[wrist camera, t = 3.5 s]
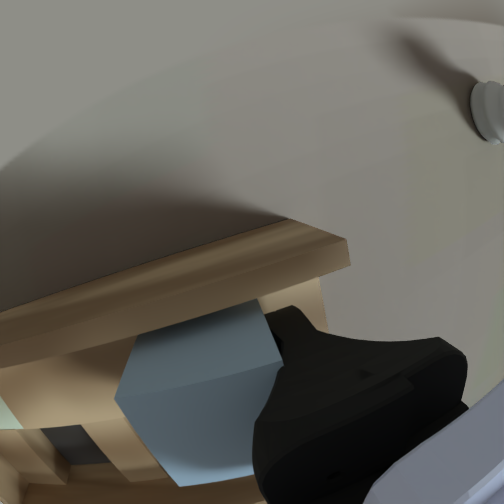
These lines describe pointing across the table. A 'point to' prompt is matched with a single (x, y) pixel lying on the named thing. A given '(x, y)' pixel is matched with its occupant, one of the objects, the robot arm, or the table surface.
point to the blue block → (201, 392)
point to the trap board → (115, 359)
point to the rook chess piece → (488, 110)
